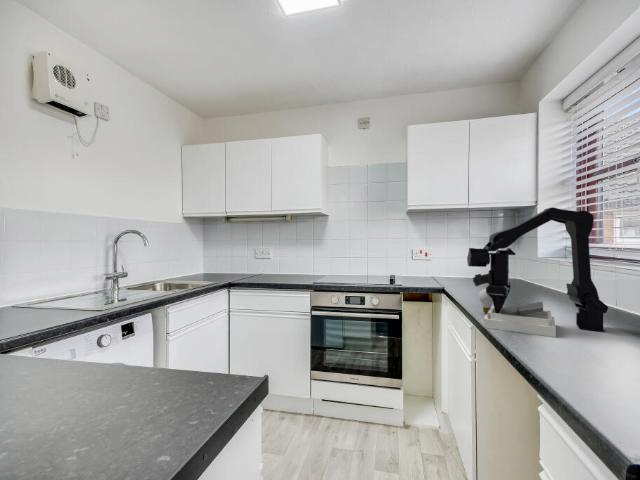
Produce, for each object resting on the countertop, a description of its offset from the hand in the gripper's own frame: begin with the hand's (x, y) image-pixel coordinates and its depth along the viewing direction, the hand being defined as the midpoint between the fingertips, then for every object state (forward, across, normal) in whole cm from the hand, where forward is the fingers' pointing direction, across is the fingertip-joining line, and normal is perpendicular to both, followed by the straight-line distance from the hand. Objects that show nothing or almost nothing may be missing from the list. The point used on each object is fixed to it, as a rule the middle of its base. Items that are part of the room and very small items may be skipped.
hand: (498, 310), depth 115 cm
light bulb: (+5, -15, -6) cm, 17 cm away
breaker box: (+5, 0, +6) cm, 8 cm away
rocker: (-1, 0, +6) cm, 6 cm away
